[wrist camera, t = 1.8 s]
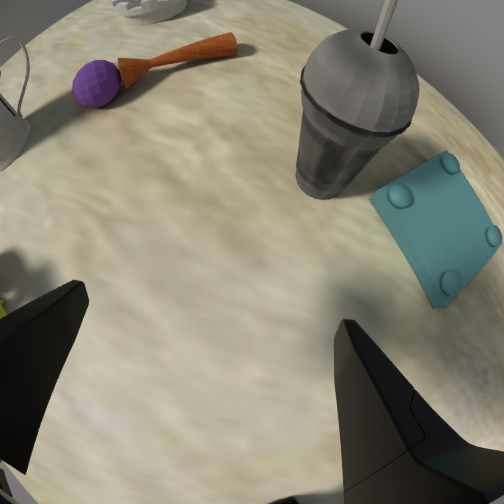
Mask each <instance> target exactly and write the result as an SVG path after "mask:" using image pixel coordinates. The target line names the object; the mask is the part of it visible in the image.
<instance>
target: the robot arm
mask: <svg viewBox="0 0 504 504" xmlns="http://www.w3.org/2000/svg"><path fill="white" fill-rule="evenodd" d="M88 305H89V298H88V294H87V291H86V287H85V284H84V283H83V282H82V281H78V280H72V281H70V282H68V283H66V284H64V285H62V286H60V287H58V288H56V289H54V290H52V291H50V292H48V293H46V294H45V295H43V296H41V297H39V298H37V299H35V300H33V301H31V302H29V303H28V304H26V305H24V306H22V307H20V308H18V309H17V310H15V311H13V312H11V313H9V314H7V315H6V316H4V317H2V318H1V319H0V467H1V464H2V462H3V461H4V462H6V463H7V464H9V465H10V466H12V467H13V468H15V469H16V470H18V471H19V472H21V473H23V474H24V475H25V474H26V472H27V469H28V465H29V461H30V458H31V454H32V451H33V447H34V444H35V441H36V438H37V434H38V431H39V430H38V429H39V428H40V425H41V422H42V419H43V416H44V414H45V411H46V408H47V405H48V403H49V400H50V397H51V395H52V392H53V390H54V387H55V385H56V382H57V380H58V378H59V375H60V373H61V371H62V368H63V366H64V364H65V361H66V359H67V357H68V355H69V352H70V350H71V348H72V346H73V344H74V342H75V339H76V337H77V334H78V332H79V329H80V326H81V323H82V321H83V318H84V315H85V313H86V310H87V308H88ZM334 382H335V392H336V401H337V410H338V420H339V431H340V442H341V455H342V469H343V487H344V504H504V452H503V451H497V450H492V449H487V448H482V447H477V446H474V445H472V444H470V443H468V442H466V441H465V440H464V439H463V438H462V437H460V436H459V435H458V434H457V433H456V432H455V431H454V430H453V429H452V428H451V427H450V426H449V425H448V424H447V423H446V422H445V421H444V420H443V419H442V418H441V417H440V416H439V415H438V414H437V413H436V412H435V411H434V410H433V409H432V408H431V407H430V406H429V404H428V403H427V402H426V401H425V400H424V399H423V398H422V397H421V395H420V394H419V393H418V392H417V391H416V390H414V387H413V386H412V385H411V384H410V383H409V381H408V380H407V379H406V378H405V377H404V376H403V374H402V373H401V372H400V371H399V370H398V369H397V367H396V366H395V365H394V364H393V363H392V362H391V361H390V359H389V358H388V357H387V356H386V355H385V354H384V353H383V351H382V350H381V349H380V348H379V347H378V346H377V345H376V344H375V342H374V341H373V340H372V339H371V338H370V337H369V336H368V335H367V333H366V332H365V331H364V330H363V329H362V328H361V327H360V326H359V324H358V323H357V322H356V321H355V320H351V319H343V320H342V321H341V322H340V325H339V327H338V330H337V332H336V335H335V338H334ZM290 501H292V503H288V502H290ZM0 504H20V503H19V502H17V501H16V500H14V499H13V498H12V494H11V491H10V488H9V485H8V483H7V480H6V477H5V473H4V471H3V469H1V468H0ZM275 504H299V503H298V502H297V500H296V499H295V498H292V497H290V498H287V499H284V500H282V501H280V502H278V503H275Z"/></svg>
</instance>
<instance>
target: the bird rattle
mask: <svg viewBox="0 0 504 504" xmlns="http://www.w3.org/2000/svg"><path fill="white" fill-rule="evenodd" d="M4 302H5V301H4V300H0V319H1V318H2V317H4V316H6V315H7V313H6V311H5V310H4V308H3V307H2V305H3V303H4Z"/></svg>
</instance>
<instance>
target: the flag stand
mask: <svg viewBox="0 0 504 504" xmlns="http://www.w3.org/2000/svg"><path fill="white" fill-rule="evenodd" d="M112 3H113V6H114V9H115V12H116V14H118V15H121V16H123V17H124V20H125V22H126V24H128V25H130V26H144V25H150V24H155V23H158V22H161V21H164V20H167V19H169V18H172V17H174V16H176V15H178V14H179V13H181V12H182V11H183V10H184V9H185V8H186V6H187V2H186V0H112Z"/></svg>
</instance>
